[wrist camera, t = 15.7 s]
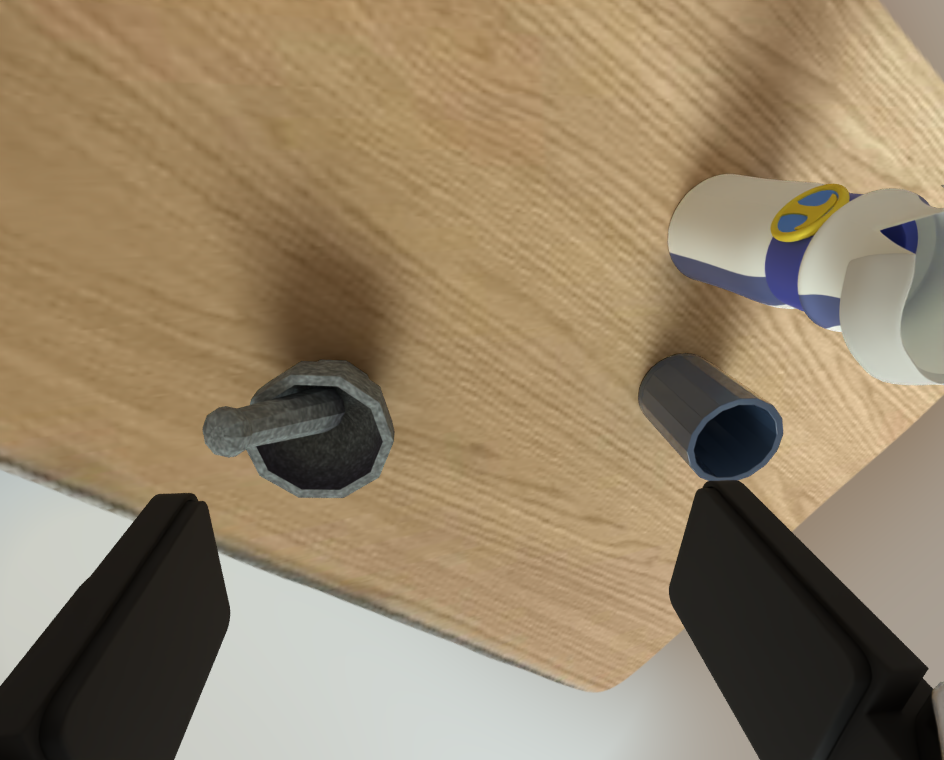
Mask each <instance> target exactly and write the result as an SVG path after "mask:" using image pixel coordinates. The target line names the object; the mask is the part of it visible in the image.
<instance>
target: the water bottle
mask: <svg viewBox="0 0 944 760" xmlns="http://www.w3.org/2000/svg"><path fill="white" fill-rule="evenodd" d="M941 186H942V187H944V185H941ZM668 248H669V253H670V256H671V259H672V261H673V263H674V264H675V266H676V267H677V268H678V269H679V271H681V272H682V273H683V274H684V275H686V276H687V277H689V278H691V279H694V280H697V281H701V282H704V283H707V284H710V285H714V286H717V287H720V288H723V289H726V290H728V291H731V292H734V293H736V294H739V295H741V296H744V297H746V298H749V299H751V300H754V301H757V302H760V303H762V304H765V305H769V306H773V307H777V308H787V309H799V310H802V311H804V312H805V313H806V315H807V316H808V317H809V318H810V319H811V320H812V321H813V322H814V323H816V324H817V325H819V326H821V327H823V328H825V329H828V330H832V331H837V332H842V335H843V338H844V340H845V343H846V345H847V347H848V349H849V350H850V352H851V354H852V355H853V356H854V358H855V359H856V360H857V361H858V363H859V364H860V365H861V366H862V367H863V368H864V370H865V371H866V372H867V373H869V374H870V375H871V376H873V377H874V378H876V379H878V380H881V381H884V382H887V383H892V384H900V385H944V208H936V207H932V206H930V205H929V203H928V202H927V201H926V200H925V199H923V198H922V197H921V196H919V195H918V194H916V193H914V192H911V191H908V190H903V189H894V188H889V189H880V190H876V191H872V192H869V193H866V194H853V193H849V192H848V190H847V189H846V188H845V187H844V186H842V185H839V184H820V183H811V182H799V181H785V180H774V179H765V178H757V177H750V176H743V175H737V174H722V175H717V176H714V177H711V178H709V179H707V180H705V181H703V182H701V183H700V184H698V185H697V186H695V187H694V188H693V189H692V190H690V191H689V192H688V193H687V194H686V196H685V197H684V198H683V199H682V201H681V202H680V203H679V205H678V207H677V208H676V210H675V212H674V214H673V217H672V219H671V222H670V226H669V231H668Z"/></svg>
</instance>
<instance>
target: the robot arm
mask: <svg viewBox="0 0 944 760" xmlns="http://www.w3.org/2000/svg"><path fill="white" fill-rule="evenodd" d="M669 596H670V600H671V604H672V606H673V608H674V610H675V611H676V613H677V615H678V617H679V618H680V620H681V622H682V624H683V625H684V627H685V629H686V631H687V632H688V634H689V636H690V637H691V639H692V641H693V643H694V645H695V646H696V648H697V650H698V652H699V653H700V655H701V657H702V659H703V660H704V662H705V664H706V666H707V667H708V669H709V671H710V673H711V675H712V676H713V678H714V680H715V681H716V683H717V685H718V687H719V689H720V690H721V692H722V694H723V696H724V697H725V699H726V701H727V702H728V704H729V706H730V708H731V710H732V711H733V713H734V715H735V717H736V718H737V720H738V722H739V724H740V725H741V727H742V729H743V731H744V732H745V734H746V736H747V737H748V739H749V741H750V743H751V745H752V746H753V748H754V750H755V752H756V753H757V755H758V757H759V759H760V760H944V682H940V683H939V684H938V685H937V686H936V687H935V688H934V689H933V688H932V687H930V685H929V684H928V683H927V682H926V681H925V680H924V679H923V676H924V675H925V673H926V672H927V670H928V667H927V666H926V665H925V664H924V663H923V662H922V661H921V660H920V659H919V658H918V657H917V656H916V655H915V654H914V653H913V652H912V651H911V650H910V649H909V648H908V647H907V646H905V645H904V643H903V642H902V641H900V640H899V638H898V637H897V636H896V635H895V634H894V633H892V631H891V630H890V629H888V627H887V626H886V625H885V624H884V623H882V621H881V620H879V619H878V618H877V617H876V615H875V614H873V613H872V612H871V611H870V610H869V609H868V608H867V607H866V606H865V605H864V604H863V603H862V602H861V601H860V600H859V599H858V598H857V597H856V596H855V595H854V594H853V593H852V592H851V591H850V590H849V589H848V588H847V587H846V586H845V585H844V584H843V583H842V582H841V581H840V580H839V579H838V578H837V577H836V576H835V575H834V574H833V573H832V572H831V571H830V570H829V569H828V568H827V567H826V566H825V565H824V564H823V563H822V562H821V561H820V560H819V559H818V558H817V557H816V556H815V555H814V554H813V553H812V552H811V551H810V550H809V549H808V548H807V547H806V546H805V545H804V544H803V543H802V542H801V541H800V540H799V539H798V538H797V537H796V536H795V535H794V534H793V533H792V532H791V531H790V530H789V529H788V528H787V527H786V526H785V525H784V524H783V523H782V522H781V521H780V520H779V519H778V518H777V517H776V516H775V515H774V514H773V513H772V512H771V511H770V510H769V509H768V508H767V507H766V506H765V505H764V504H763V503H762V502H761V501H760V500H759V499H758V498H757V497H756V496H755V495H754V494H753V493H752V492H751V491H750V490H749V489H748V488H747V487H746V486H745V485H744V484H743V483H741V482H740V481H737V480H721V481H708V482H706V483H705V484H704V486H703V488H701V489H698V490H697V492H696V494H695V497H694V501H693V504H692V508H691V511H690V515H689V518H688V522H687V525H686V529H685V532H684V536H683V540H682V543H681V547H680V550H679V554H678V557H677V561H676V564H675V568H674V571H673V575H672V579H671V582H670V586H669ZM229 621H230V606H229V601H228V596H227V592H226V587H225V583H224V578H223V574H222V569H221V564H220V560H219V556H218V551H217V546H216V542H215V537H214V532H213V528H212V523H211V519H210V514H209V510H208V506H207V504H206V502H204V501H198V499H197V497H196V496H195V494H192V493H177V494H158V495H155V496H154V497H153V498H152V499H151V500H150V502H149V503H148V504H147V505H146V507H145V508H144V509H143V510H142V512H141V513H140V514H139V515H138V517H137V518H136V519H135V520H134V522H133V523H132V524H131V526H130V527H129V528H128V529H127V531H126V532H125V533H124V534H123V536H122V537H121V538H120V540H119V541H118V542H117V543H116V545H115V546H114V547H113V548H112V550H111V551H110V552H109V553H108V555H107V556H106V557H105V558H104V560H103V561H102V562H101V564H100V565H99V566H98V567H97V569H96V570H95V571H94V572H93V574H92V575H91V576H90V577H89V578H88V579H87V580H86V581H85V582H84V583H83V584H82V585H81V586H80V587H79V588H78V589H77V591H76V592H75V593H74V595H73V596H72V597H71V598H70V600H69V601H68V602H67V603H66V604H65V606H64V607H63V608H62V609H61V611H60V612H59V613H58V614H57V616H56V617H55V618H54V620H53V621H52V622H51V623H50V624H49V626H48V627H47V628H46V629H45V631H44V632H43V633H42V635H41V636H40V637H39V638H38V640H37V641H36V642H35V644H34V645H33V646H32V647H31V648H30V650H29V651H28V652H27V653H26V655H25V656H24V657H23V658H22V660H21V661H20V662H19V663H18V665H17V666H16V667H15V668H14V670H13V671H12V672H11V674H10V675H9V676H8V677H7V678H6V680H5V681H4V682H3V683H2V685H1V686H0V760H174V759H175V756H176V754H177V751H178V749H179V746H180V744H181V741H182V739H183V737H184V734H185V732H186V729H187V727H188V724H189V722H190V719H191V717H192V715H193V712H194V710H195V707H196V705H197V702H198V700H199V697H200V695H201V693H202V690H203V688H204V685H205V683H206V680H207V678H208V676H209V673H210V671H211V668H212V666H213V663H214V661H215V658H216V656H217V654H218V651H219V649H220V646H221V644H222V641H223V638H224V636H225V634H226V631H227V629H228V625H229Z"/></svg>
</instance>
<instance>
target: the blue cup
mask: <svg viewBox="0 0 944 760" xmlns="http://www.w3.org/2000/svg"><path fill="white" fill-rule="evenodd" d="M639 405H640V408H641V411H642V412H643V414H644V415H645V416H646V418H647V419H648V420H649V421H650V422H651V423H652V424H653V425H654V427H655V428H656V429H657V430H658V431H659V432H660V433H661V435H662V436H663V437H664V438H665V439H666V440H667V441H668V442H669V444H670V445H671V446H672V447H673V448H674V449H675V450H676V451H677V453H678V454H679V455H680V456H681V457H682V458H683V459H684V460H685V462H686V463H687V464H688V465H689V466H690V467H691V468H692V470H693V471H694V472H695V473H696V474H697V475H698V476H699V477H700V478H703V479H705V480H708V481H721V480H737V481H738V480H740V479H743V478H746V477H749V476H751V475H752V474H754V473H755V472H756V471H758V470H759V469H761V468H762V467H764V466H765V465H766V464H767V463H768V462H769V460H770V459H771V458H772V457H773V455H774V454H775V453H776V452H777V450H778V448H779V445H780V442H781V439H782V436H783V423H782V417H781V416H780V414H779V413H778V411H777V410H776V409H775V407H774V406H773V405H772V404H771V403H769V402H768V401H766V400H765V399H763V398H762V397H760V396H759V395H757V394H756V393H755V392H753V391H752V390H750V389H749V388H747V387H746V386H744V385H743V384H742V383H740V382H739V381H737V380H736V379H734V378H733V377H731V376H730V375H729V374H727V373H726V372H724V371H723V370H721V369H720V368H718V367H717V366H715V365H714V364H713V363H711V362H709V361H707V360H706V359H704V358H702V357H701V356H698V355H695V354H688V353H685V354H676V355H673V356H670V357H667V358H665V359H663V360H662V361H660V362H659V363H657V364H656V365H655V366H654V367H652V368H651V369H650V371H649V372H648V373H647V374H646V376H645V377H644V379H643V381H642V383H641V386H640V389H639Z"/></svg>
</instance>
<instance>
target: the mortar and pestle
mask: <svg viewBox="0 0 944 760" xmlns="http://www.w3.org/2000/svg"><path fill="white" fill-rule="evenodd" d="M203 434H204V439H205V444H206V445H207V446H208V447H209V448H210V449H211V451H212V452H213V453H214V454H216V455H220V456H225V457H234V456H237V455H238V454H240V453H241V452H243V451H244V450H247V452H248V454H249V456H250V458H251V460H252V462H253V464H254V465H255V467H256V469H257V471H258V473H259V475H260V476H261V477H263V478H265V479H267V480H268V481H270V482H272V483H274V484H276V485H277V486H279V487H281V488H283V489H285V490H286V491H288V492H290V493H292V494H294V495H295V496H297V497H300V498H344V497H346V496H348V495H349V494H351V493H353V492H354V491H356V490H358V489H360V488H361V487H363V486H365V485H367V484H368V483H370V482H372V481H374V480H375V479H377V478H379V476H380V474H381V471H382V469H383V467H384V464H385V462H386V459H387V457H388V454H389V452H390V449H391V447H392V445H393V442H394V427H393V423H392V420H391V417H390V414H389V411H388V408H387V405H386V402H385V399H384V397H383V394H382V391H381V388H380V386H378V385H377V384H375V383H374V382H373V381H371V380H370V379H369V378H368V375H367V374H365V373H364V372H362V371H361V370H359V369H358V368H357V367H355V366H354V365H352V364H351V363H349V362H348V361H343V360H319V361H318V362H313V361H301V362H299V363H298V364H296V365H295V366H293V367H292V368H290V369H288V370H287V371H285V372H284V373H282V374H280V375H279V376H277V377H276V378H274V379H273V380H271V381H269V382H268V383H267V384H265V385H264V386H263V387H261V388H260V389H259V390H258V391H257V392H256V393H255V395H254V396H253V398H252V399H251V403H250V405H249V406H245V407H241V408H238V409H237V408H231V407H226V406H225V407H220V408H218V409H216V410H214V411H213V412H211V413H210V414H208V415H207V417H206V420H205V423H204V426H203Z"/></svg>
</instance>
